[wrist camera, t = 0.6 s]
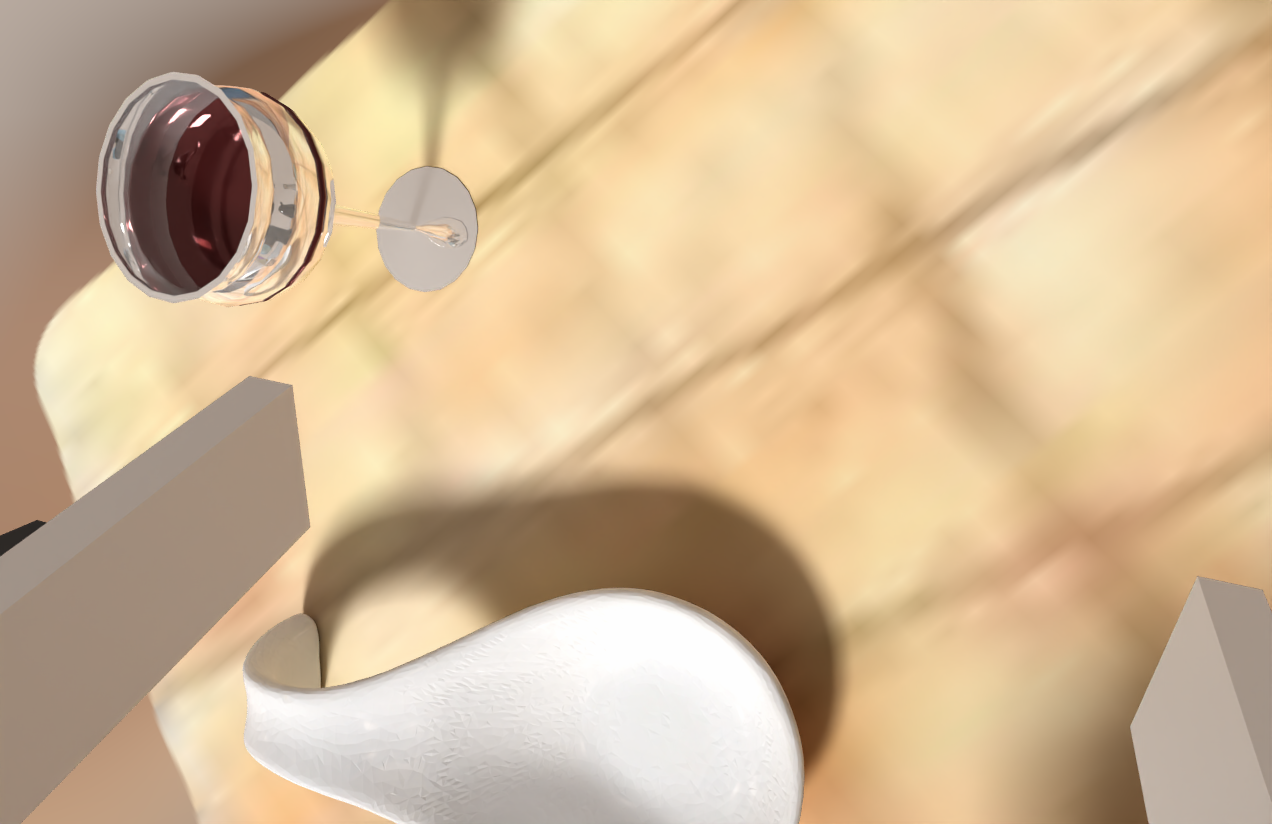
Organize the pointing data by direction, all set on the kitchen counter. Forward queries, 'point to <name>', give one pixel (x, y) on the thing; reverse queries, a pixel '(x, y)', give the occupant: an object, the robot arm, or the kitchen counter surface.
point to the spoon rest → (541, 720)
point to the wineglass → (253, 199)
